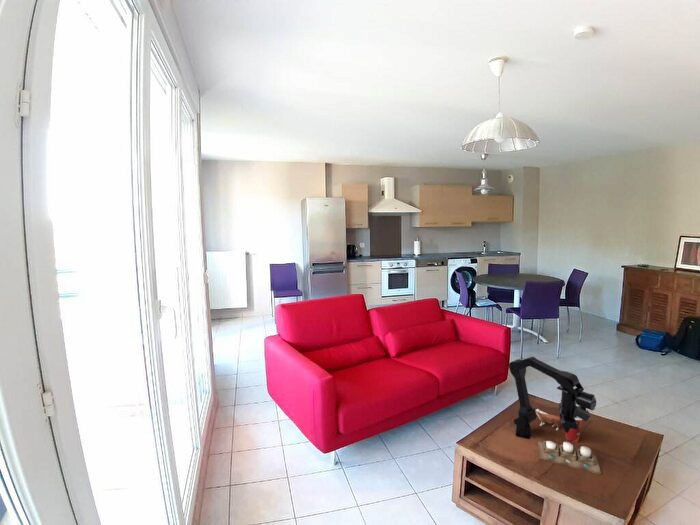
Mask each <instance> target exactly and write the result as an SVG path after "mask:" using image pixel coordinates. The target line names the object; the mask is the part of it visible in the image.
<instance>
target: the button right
mask: <svg viewBox="0 0 700 525" xmlns="http://www.w3.org/2000/svg"><path fill="white" fill-rule="evenodd" d="M591 452H592V450H591V448H590V447H588V446H585V445H581V446H580V456H582V457H586V458H590V457H591Z"/></svg>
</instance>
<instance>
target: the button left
mask: <svg viewBox="0 0 700 525" xmlns="http://www.w3.org/2000/svg"><path fill="white" fill-rule="evenodd" d="M546 441H547V442H546V448H550V449H554V450H555V449H556V444H557V443H556V444H555V442H554V441H552V440H546Z"/></svg>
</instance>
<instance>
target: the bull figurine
mask: <svg viewBox="0 0 700 525" xmlns="http://www.w3.org/2000/svg"><path fill="white" fill-rule="evenodd" d="M535 409H536V408H535ZM536 415H537V417H538V419H539V420H540V421H541V422H540V424H539V427H542V426H543V425H545V424H546V422H547V423H549V424H552V423H553V425H551V427H552V428H553V427H556V429H555V431H558V430H559V428H560V424H561V420H560V415H559V416H557V415H555V414H550V413H547V412H544V411H543V410H542V409H539V408H537V409H536Z"/></svg>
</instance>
